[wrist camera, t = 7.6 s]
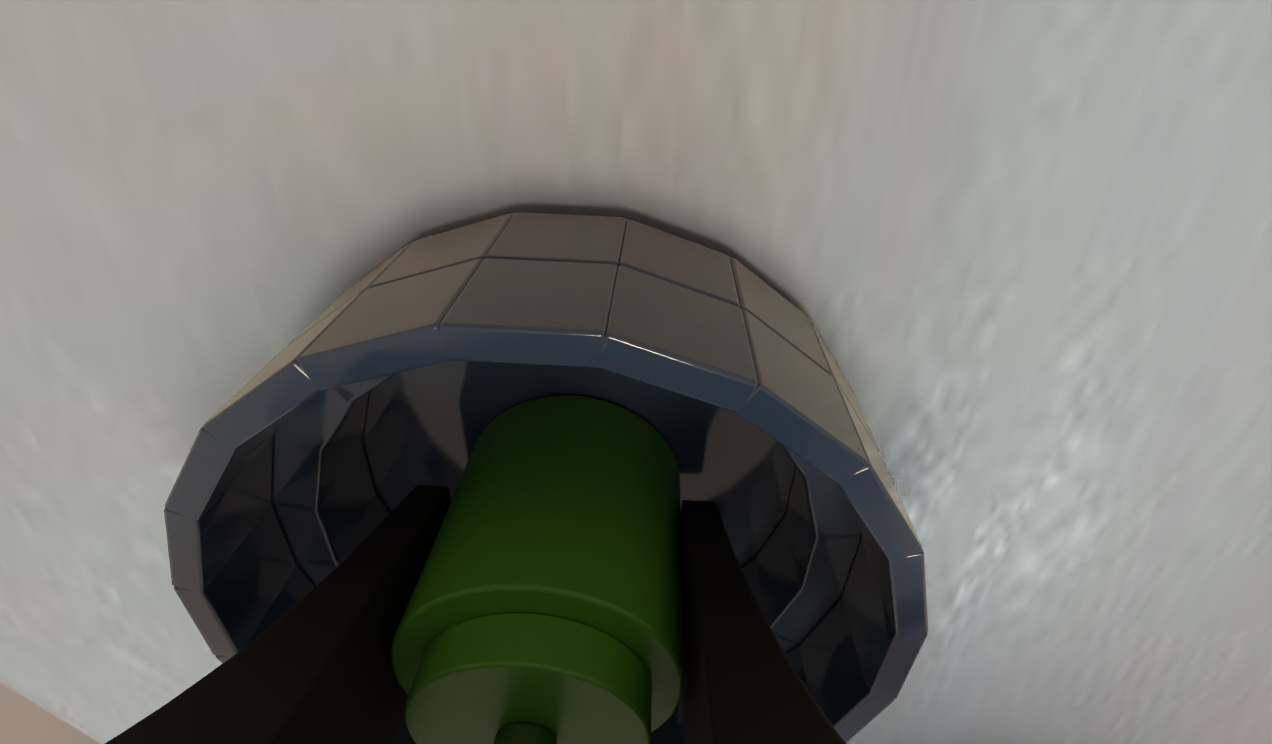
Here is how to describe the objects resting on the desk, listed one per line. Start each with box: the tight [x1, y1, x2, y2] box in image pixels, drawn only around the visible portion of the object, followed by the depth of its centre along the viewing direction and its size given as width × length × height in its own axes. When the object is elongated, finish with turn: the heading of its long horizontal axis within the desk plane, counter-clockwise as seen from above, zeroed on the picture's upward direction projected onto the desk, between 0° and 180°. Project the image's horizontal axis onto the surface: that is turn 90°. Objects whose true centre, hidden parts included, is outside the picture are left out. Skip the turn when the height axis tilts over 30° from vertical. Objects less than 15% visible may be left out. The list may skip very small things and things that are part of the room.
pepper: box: [391, 395, 684, 744], centre depth 11 cm, size 5×5×7 cm
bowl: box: [164, 212, 928, 744], centre depth 12 cm, size 12×12×4 cm
